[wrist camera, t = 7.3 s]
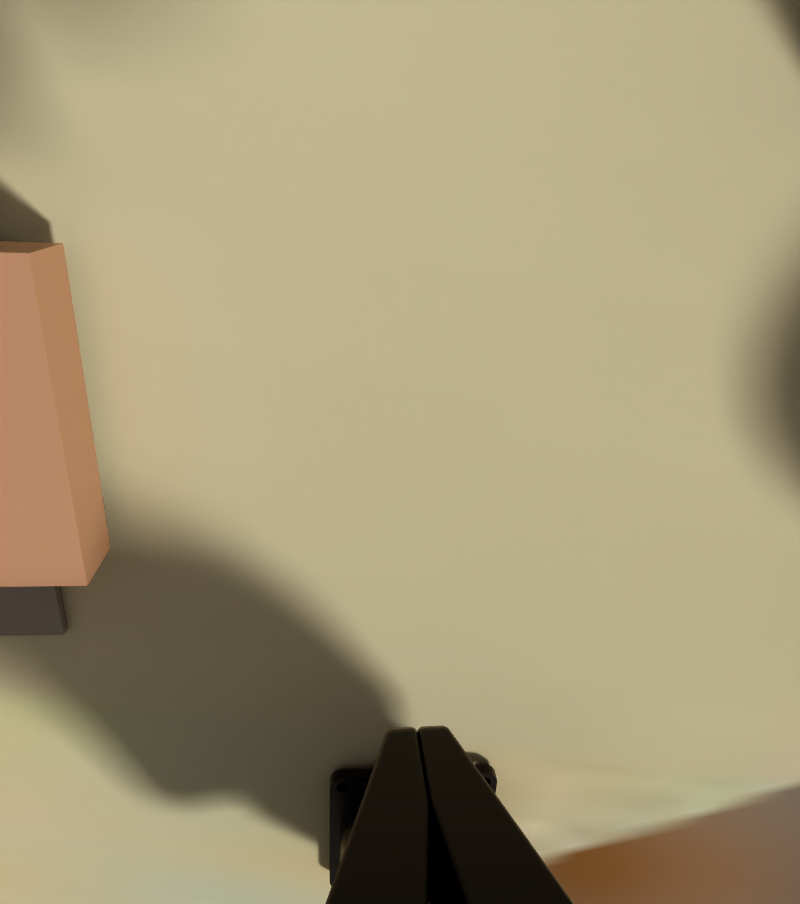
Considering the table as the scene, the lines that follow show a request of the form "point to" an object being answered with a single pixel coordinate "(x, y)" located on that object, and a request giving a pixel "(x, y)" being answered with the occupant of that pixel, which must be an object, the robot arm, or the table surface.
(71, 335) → the tile
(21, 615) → the mat
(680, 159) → the table surface
